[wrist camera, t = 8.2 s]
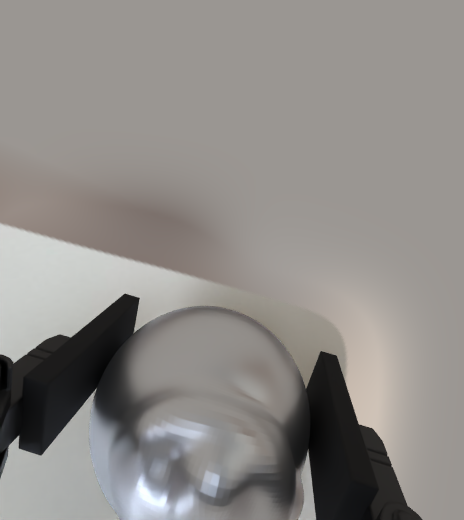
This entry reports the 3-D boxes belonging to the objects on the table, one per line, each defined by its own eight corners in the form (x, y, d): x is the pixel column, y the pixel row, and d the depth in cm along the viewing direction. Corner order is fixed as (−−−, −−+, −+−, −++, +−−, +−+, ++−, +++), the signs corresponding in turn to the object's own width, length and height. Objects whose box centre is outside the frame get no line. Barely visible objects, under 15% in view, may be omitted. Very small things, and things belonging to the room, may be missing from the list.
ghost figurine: (80, 497, 16) (-80, 583, 7) (159, 316, 20) (125, 225, 11) (261, 565, 15) (347, 759, 6) (301, 363, 19) (384, 306, 11)
